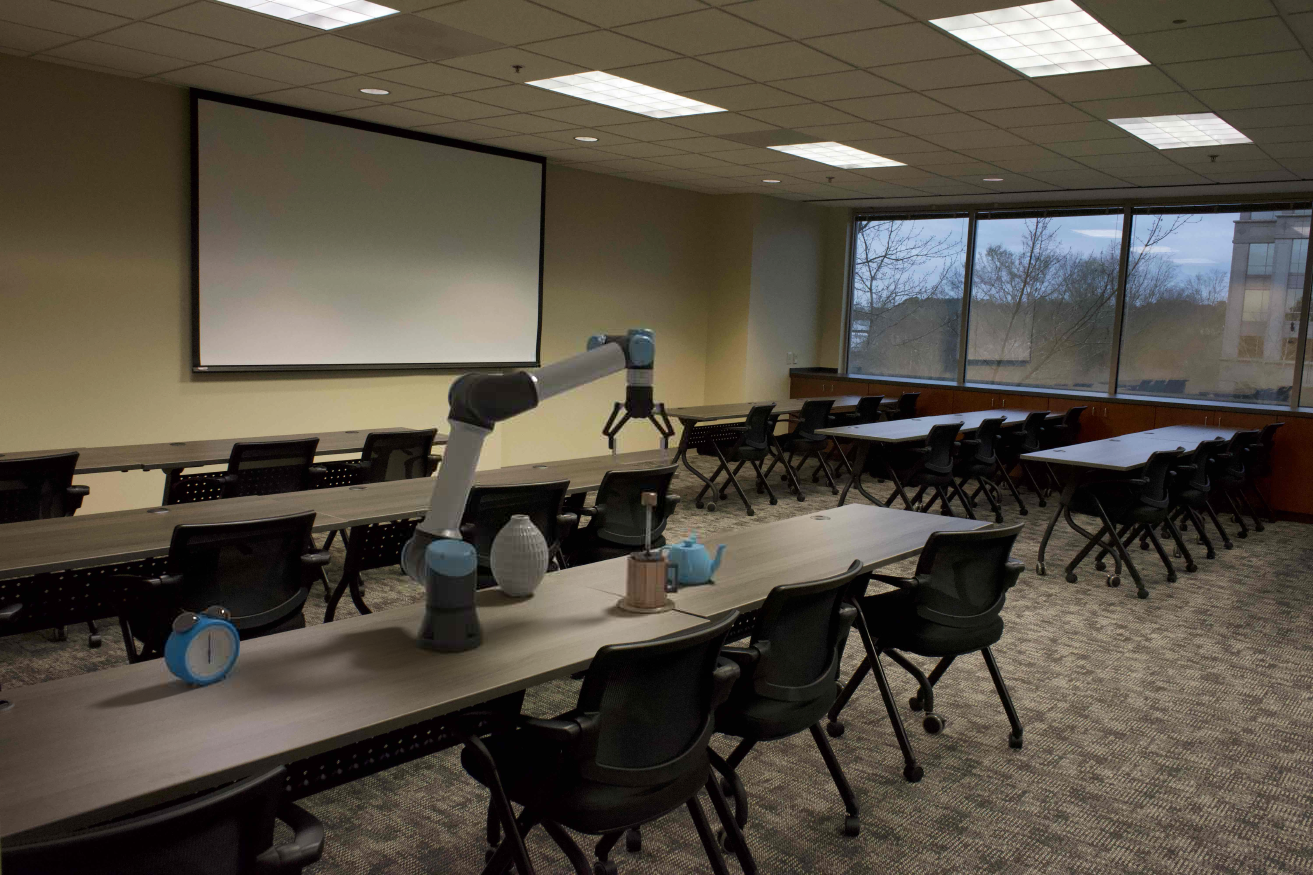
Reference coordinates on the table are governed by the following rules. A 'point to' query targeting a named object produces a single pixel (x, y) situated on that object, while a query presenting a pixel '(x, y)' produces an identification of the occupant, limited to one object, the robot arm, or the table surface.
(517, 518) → the vase
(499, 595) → the table surface
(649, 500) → the plunger
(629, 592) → the press
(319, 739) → the table surface
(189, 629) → the alarm clock
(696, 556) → the teapot
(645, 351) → the robot arm
